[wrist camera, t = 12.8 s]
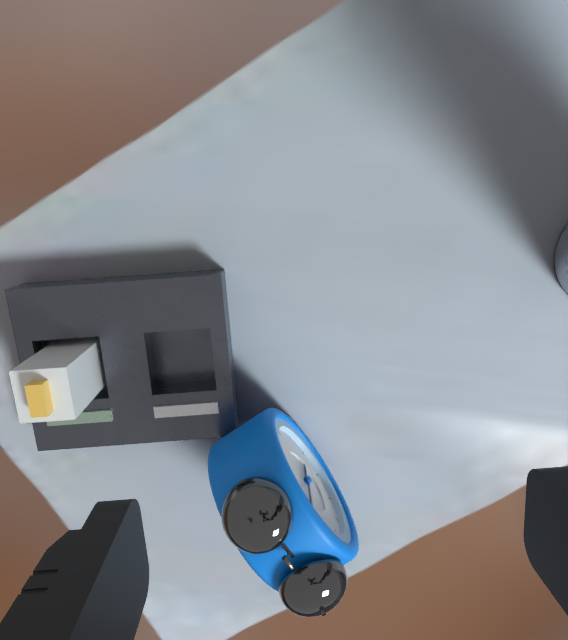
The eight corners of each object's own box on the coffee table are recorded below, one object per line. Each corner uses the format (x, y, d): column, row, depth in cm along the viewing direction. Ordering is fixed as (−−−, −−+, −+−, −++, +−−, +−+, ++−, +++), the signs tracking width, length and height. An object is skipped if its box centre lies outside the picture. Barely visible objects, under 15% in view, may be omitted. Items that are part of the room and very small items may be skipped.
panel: (224, 269, 42) (220, 275, 39) (238, 420, 45) (236, 437, 42) (23, 283, 42) (3, 290, 39) (52, 434, 45) (37, 452, 42)
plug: (102, 336, 42) (60, 372, 34) (109, 380, 43) (69, 425, 35) (56, 339, 42) (1, 376, 34) (64, 383, 43) (12, 429, 35)
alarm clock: (346, 487, 47) (381, 615, 33) (293, 520, 48) (304, 660, 33) (268, 382, 44) (268, 471, 30) (213, 418, 45) (187, 523, 31)
